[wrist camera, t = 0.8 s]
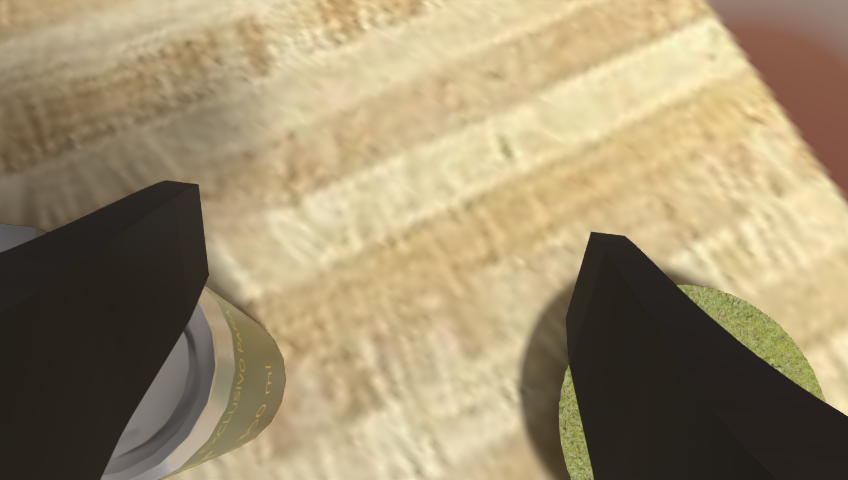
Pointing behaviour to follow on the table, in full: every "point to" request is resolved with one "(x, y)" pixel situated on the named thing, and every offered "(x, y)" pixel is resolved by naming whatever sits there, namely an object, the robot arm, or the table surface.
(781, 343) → the green disc with hole
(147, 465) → the beer can
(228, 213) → the table surface
